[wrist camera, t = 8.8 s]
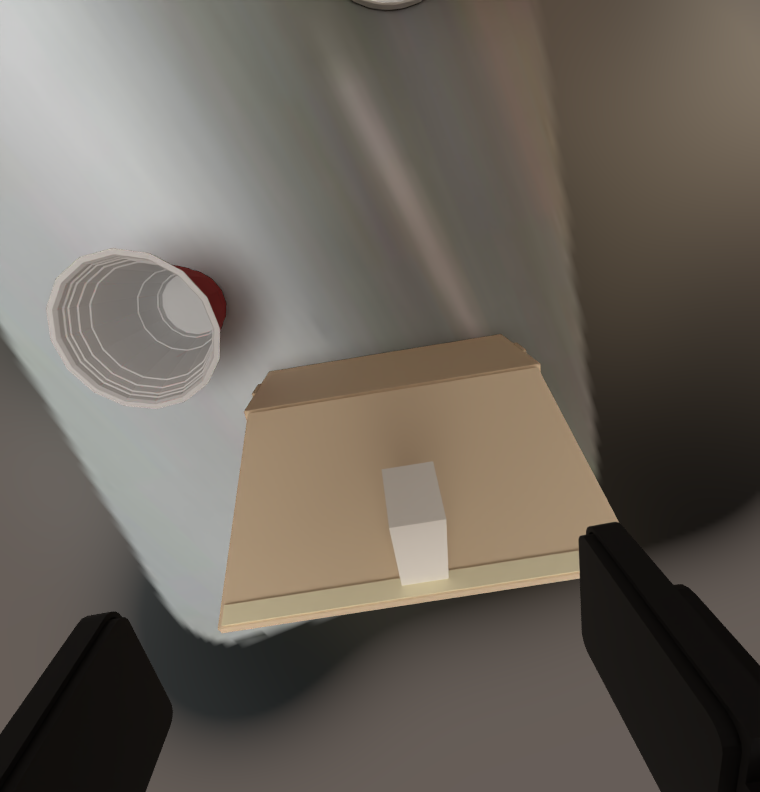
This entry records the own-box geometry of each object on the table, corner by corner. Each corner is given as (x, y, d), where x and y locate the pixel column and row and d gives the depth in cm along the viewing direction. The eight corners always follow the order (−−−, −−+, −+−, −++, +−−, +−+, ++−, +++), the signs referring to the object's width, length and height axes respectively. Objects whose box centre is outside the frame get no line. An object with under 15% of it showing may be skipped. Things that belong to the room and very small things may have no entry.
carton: (266, 371, 43) (240, 411, 34) (503, 333, 43) (543, 362, 34) (302, 514, 49) (289, 582, 39) (512, 481, 49) (549, 542, 39)
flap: (250, 419, 34) (217, 350, 29) (536, 373, 34) (548, 296, 29) (222, 632, 23) (162, 579, 19) (637, 569, 23) (682, 498, 18)
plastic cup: (178, 383, 43) (114, 438, 32) (106, 277, 40) (6, 296, 29) (279, 333, 42) (249, 372, 31) (214, 219, 39) (154, 215, 27)
